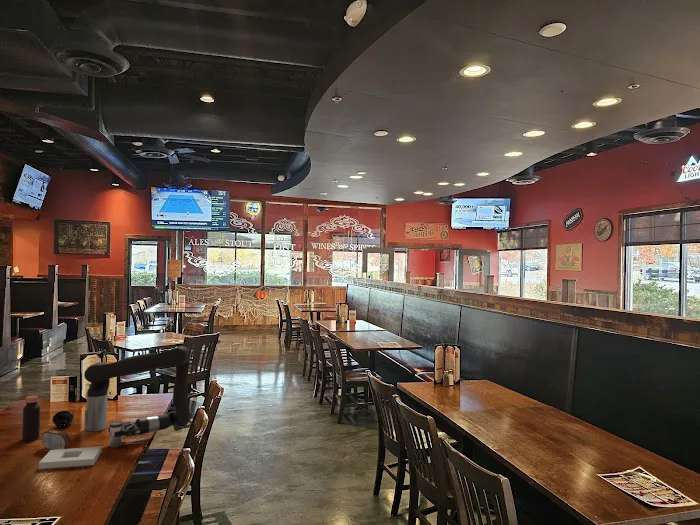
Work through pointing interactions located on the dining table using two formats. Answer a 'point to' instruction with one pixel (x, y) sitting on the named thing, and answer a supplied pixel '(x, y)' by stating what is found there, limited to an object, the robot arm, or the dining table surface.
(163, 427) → the robot arm
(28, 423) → the bottle
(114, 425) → the canister
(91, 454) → the block
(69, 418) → the fried shrimp in bowl
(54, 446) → the tin
